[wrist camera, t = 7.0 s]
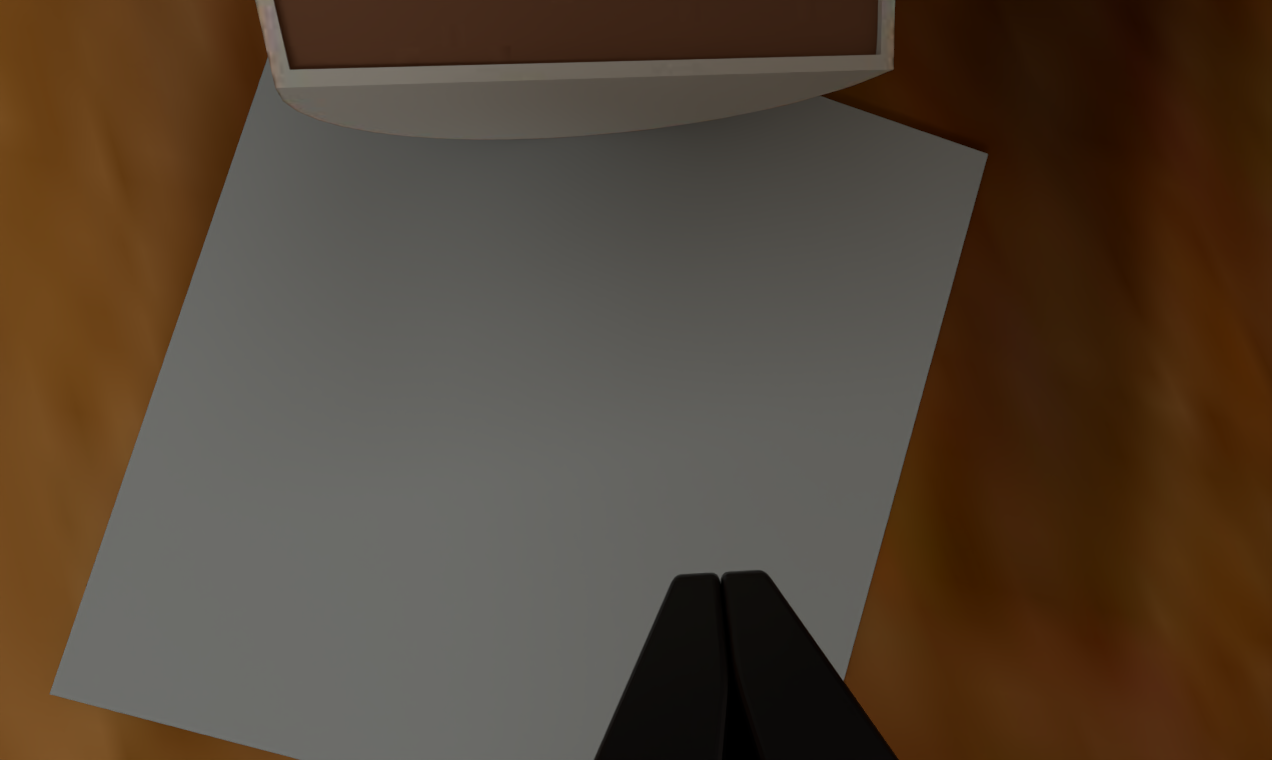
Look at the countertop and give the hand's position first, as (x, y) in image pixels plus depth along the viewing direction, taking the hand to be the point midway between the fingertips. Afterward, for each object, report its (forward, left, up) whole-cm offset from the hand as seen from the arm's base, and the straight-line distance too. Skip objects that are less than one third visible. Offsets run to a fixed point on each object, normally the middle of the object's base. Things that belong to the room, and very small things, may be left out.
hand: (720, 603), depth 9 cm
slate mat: (+2, +2, -10) cm, 11 cm away
